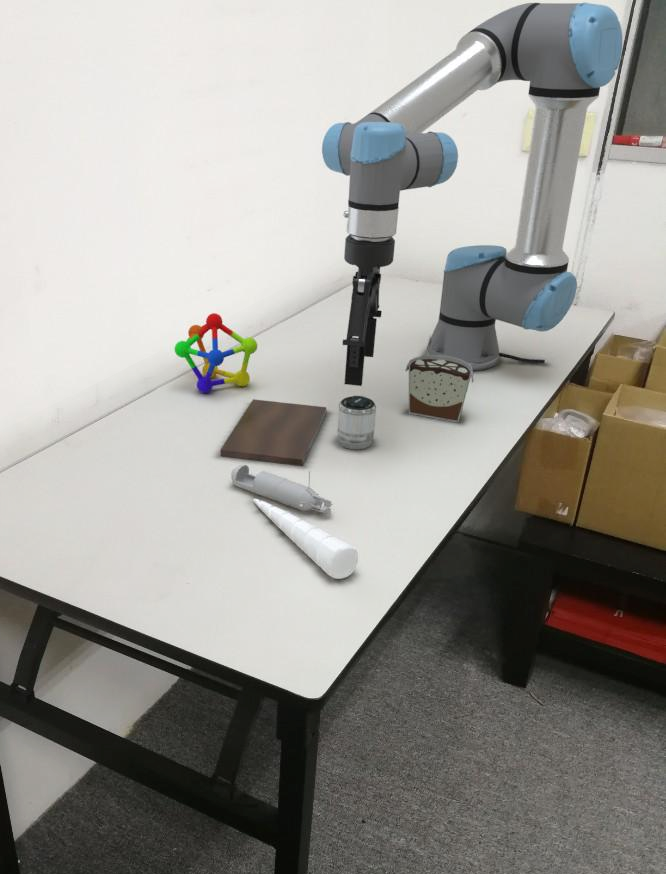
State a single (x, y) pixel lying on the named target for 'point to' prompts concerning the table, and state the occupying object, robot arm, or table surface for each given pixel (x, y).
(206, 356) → the educational toy
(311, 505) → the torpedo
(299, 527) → the unicorn horn
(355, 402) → the camera lens
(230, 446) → the walnut board
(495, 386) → the table surface
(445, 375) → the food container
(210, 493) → the table surface
